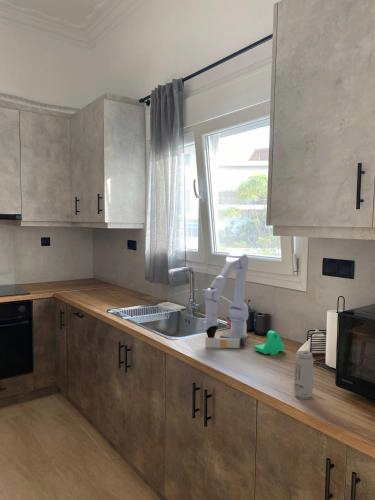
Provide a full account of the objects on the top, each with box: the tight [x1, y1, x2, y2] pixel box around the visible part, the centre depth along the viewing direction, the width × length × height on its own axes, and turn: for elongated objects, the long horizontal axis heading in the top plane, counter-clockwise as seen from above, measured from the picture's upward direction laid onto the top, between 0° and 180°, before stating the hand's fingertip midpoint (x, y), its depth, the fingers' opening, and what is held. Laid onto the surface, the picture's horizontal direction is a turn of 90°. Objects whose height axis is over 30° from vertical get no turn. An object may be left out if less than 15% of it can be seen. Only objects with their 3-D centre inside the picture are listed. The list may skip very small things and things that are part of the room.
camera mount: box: [254, 330, 285, 356], centre depth 179 cm, size 12×8×10 cm, turn 121°
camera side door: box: [204, 337, 241, 349], centre depth 183 cm, size 1×16×4 cm, turn 85°
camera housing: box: [219, 332, 246, 348], centre depth 188 cm, size 7×11×4 cm, turn 63°
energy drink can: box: [293, 350, 315, 400], centre depth 131 cm, size 6×6×15 cm
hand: (210, 341), depth 185 cm, fingers closed
